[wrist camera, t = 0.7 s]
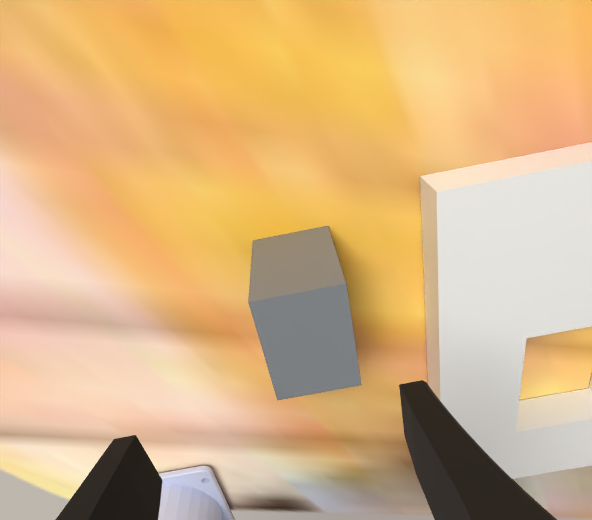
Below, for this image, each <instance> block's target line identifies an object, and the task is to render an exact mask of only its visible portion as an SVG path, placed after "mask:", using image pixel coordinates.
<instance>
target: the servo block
mask: <svg viewBox="0 0 592 520" xmlns="http://www.w3.org/2000/svg"><path fill="white" fill-rule="evenodd" d="M248 302H249V306H250V309H251V313H252V316H253V319H254V323H255V326H256V329H257V333H258V336H259V340H260V343H261V346H262V350H263V353H264V356H265V360H266V363H267V367H268V370H269V373H270V377H271V380H272V383H273V387H274V390H275V394H276V397H277V400H282V399H287V398H293V397H298V396H304V395H310V394H315V393H321V392H326V391H332V390H337V389H343V388H348V387H354V386H359V385H361V378H360V371H359V365H358V358H357V351H356V344H355V338H354V331H353V324H352V318H351V311H350V304H349V298H348V291H347V284H346V281H345V277H344V274H343V271H342V268H341V265H340V262H339V259H338V255H337V252H336V249H335V246H334V243H333V240H332V237H331V233H330V230H329V227H328V226H324V227H319V228H314V229H309V230H304V231H299V232H294V233H289V234H284V235H278V236H273V237H268V238H263V239H258V240H253V245H252V259H251V273H250V287H249V301H248Z"/></svg>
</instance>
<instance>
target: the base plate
mask: <svg viewBox="0 0 592 520" xmlns="http://www.w3.org/2000/svg"><path fill="white" fill-rule="evenodd" d="M420 192H421V218H422V243H423V269H424V295H425V321H426V347H427V373H428V385H429V387H430V388H431V390H432V391H433V392H434V393H435V395H436V396H437V397H438V399H439V400H440V401H441V402H442V404H443V405H444V406H445V407H446V409H447V410H448V411H449V412H450V413H451V415H452V416H453V417H454V418H455V419H456V420H457V422H458V423H459V424H460V425H461V426H462V427H463V428H464V430H465V431H466V432H467V433H468V434H469V435H470V436H471V437H472V438H473V439H474V440H475V442H476V443H477V444H478V445H479V446H480V447H481V448H482V449H483V450H484V451H485V452H486V453H487V454H488V455H489V456H490V457H491V458H492V459H493V460H494V462H495V463H496V464H497V465H498V466H499V467H500V468H501V469H502V470H503V471H505V472H506V473H507V474H508V475H509V476H510V477H511V478H512V479H515V478H520V477H526V476H532V475H538V474H544V473H550V472H555V471H561V470H567V469H573V468H579V467H585V466H591V465H592V376H591V380H590V385H589V388H587V389H582V390H576V391H570V392H565V393H559V394H554V395H548V396H542V397H537V398H531V399H526V400H520V401H519V398H520V389H521V381H522V372H523V363H524V355H525V346H526V338H530V337H536V336H541V335H547V334H552V333H558V332H563V331H569V330H574V329H580V328H585V327H590V326H592V142H589V143H584V144H579V145H574V146H569V147H564V148H559V149H554V150H549V151H544V152H539V153H534V154H529V155H524V156H519V157H514V158H509V159H504V160H499V161H494V162H489V163H484V164H479V165H474V166H468V167H463V168H458V169H453V170H448V171H443V172H438V173H433V174H428V175H423V176H420Z"/></svg>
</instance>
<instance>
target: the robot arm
mask: <svg viewBox="0 0 592 520" xmlns="http://www.w3.org/2000/svg"><path fill="white" fill-rule="evenodd" d="M399 386H400V396H401V405H402V415H403V424H404V434H405V438H406V442H407V445H408V448H409V452H410V455H411V458H412V461H413V465H414V468H415V471H416V474H417V477H418V480H419V482H420V484H421V487H422V489H423V492H424V494H425V497H426V499H427V502H428V504H429V507H430V509H431V511H432V514H433V516H434V519H435V520H557V519H555V518H554V517H553V516H552V515H551V514H550V513H549V512H547V511H546V510H545V509H544V508H543V507H542V506H541V505H540V504H538V503H537V502H536V501H535V500H534V499H533V498H532V497H531V496H530V495H529V494H527V493H526V492H525V491H524V490H523V489H522V488H521V487H520V486H519V485H518V484H517V483H516V482H515V481H514V480H513V479H512V478H511V477H510V476H509V475H508V474H507V473H506V472H505V471H503V470H502V469H501V468H500V467H499V466H498V465H497V464H496V463H495V462H494V460H493V459H492V458H491V457H490V456H489V455H488V454H487V453H486V452H485V451H484V450H483V449H482V448H481V447H480V446H479V445H478V444H477V443H476V442H475V440H474V439H473V438H472V437H471V436H470V435H469V434H468V433H467V432H466V431H465V430H464V428H463V427H462V426H461V425H460V424H459V423H458V422H457V420H456V419H455V418H454V417H453V416H452V415H451V413H450V412H449V411H448V410H447V409H446V407H445V406H444V405H443V404H442V402H441V401H440V400H439V399H438V397H437V396H436V395H435V393H434V392H433V391H432V390H431V388H430V387H429V385H428V384H427V383H426V382H424V381H423V380H421V381H416V382H411V383H406V384H400V385H399ZM56 520H235V519H234V516H233V514H232V512H231V510H230V508H229V506H228V503H227V501H226V499H225V497H224V495H223V493H222V491H221V488H220V486H219V484H218V482H217V480H216V478H215V475H214V473H213V471H212V469H211V468H210V467H208V466H198V467H192V468H187V469H181V470H175V471H170V472H164V473H158V472H157V470H156V469H155V467H154V465H153V464H152V462H151V460H150V458H149V457H148V455H147V453H146V452H145V450H144V448H143V447H142V445H141V443H140V442H139V440H138V438H137V437H136V435H133V436H128V437H123V438H118V439H114V440H113V441H112V443H111V444H110V445H109V447H108V448H107V449H106V451H105V452H104V454H103V455H102V456H101V458H100V459H99V461H98V462H97V463H96V465H95V466H94V468H93V469H92V470H91V472H90V473H89V475H88V476H87V477H86V479H85V480H84V482H83V483H82V484H81V486H80V487H79V488H78V490H77V491H76V493H75V494H74V495H73V497H72V498H71V499H70V501H69V502H68V504H67V505H66V506H65V508H64V509H63V511H62V512H61V513H60V515H59V516H58V517H57V519H56Z"/></svg>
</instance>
